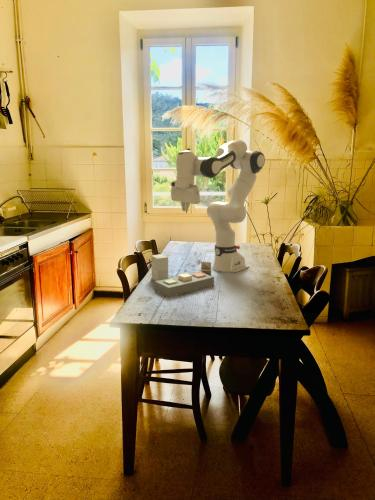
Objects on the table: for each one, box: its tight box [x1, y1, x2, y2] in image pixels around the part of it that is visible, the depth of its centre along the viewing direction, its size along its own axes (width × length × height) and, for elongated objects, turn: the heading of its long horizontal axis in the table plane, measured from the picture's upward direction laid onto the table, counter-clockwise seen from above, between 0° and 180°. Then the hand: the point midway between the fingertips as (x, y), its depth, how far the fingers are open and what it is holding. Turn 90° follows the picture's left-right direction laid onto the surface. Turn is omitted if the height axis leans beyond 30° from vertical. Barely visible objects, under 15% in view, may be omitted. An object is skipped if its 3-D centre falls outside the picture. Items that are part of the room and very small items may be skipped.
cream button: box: [178, 273, 192, 282], centre depth 196 cm, size 5×5×4 cm
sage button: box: [163, 279, 177, 285], centre depth 191 cm, size 5×5×4 cm
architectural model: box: [197, 261, 212, 276], centre depth 218 cm, size 3×7×8 cm, turn 78°
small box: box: [151, 253, 169, 282], centre depth 208 cm, size 8×6×13 cm
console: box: [154, 271, 215, 298], centre depth 197 cm, size 28×12×4 cm, turn 127°
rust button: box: [193, 273, 206, 278], centre depth 202 cm, size 5×5×4 cm
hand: (185, 211), depth 200 cm, fingers closed
